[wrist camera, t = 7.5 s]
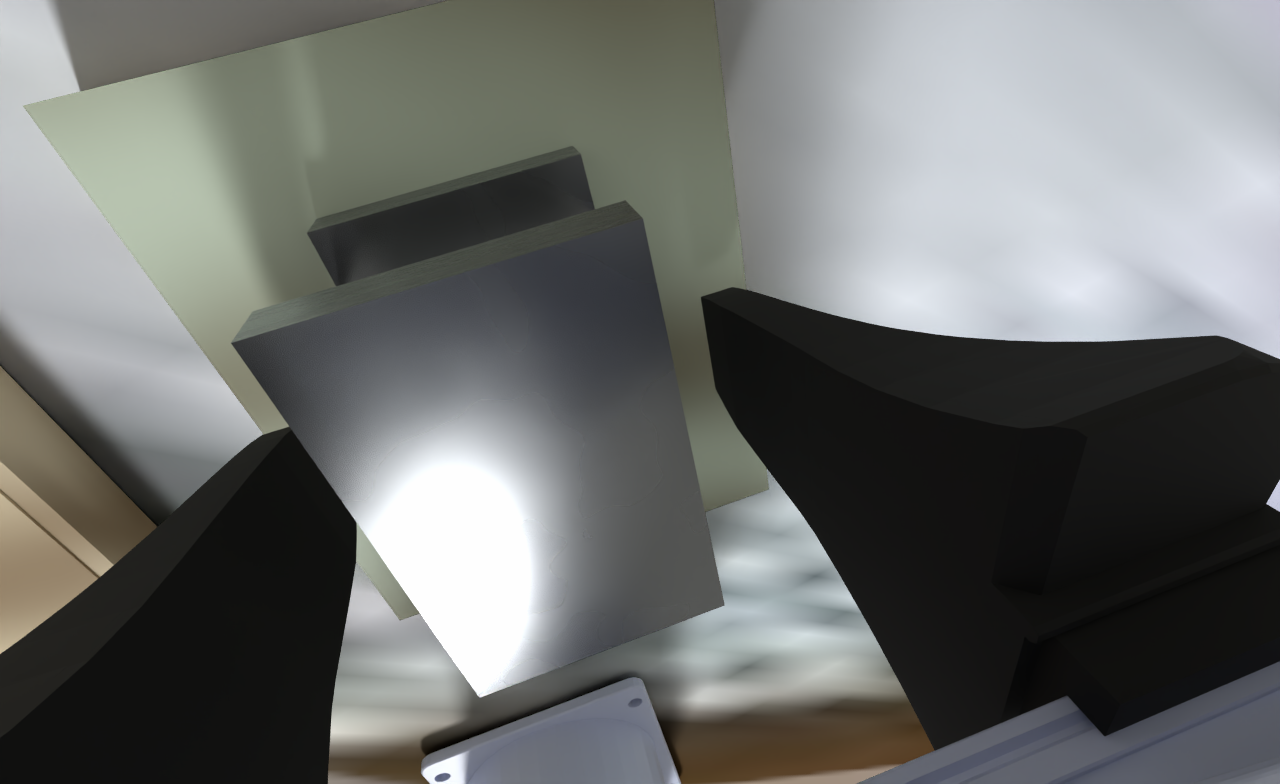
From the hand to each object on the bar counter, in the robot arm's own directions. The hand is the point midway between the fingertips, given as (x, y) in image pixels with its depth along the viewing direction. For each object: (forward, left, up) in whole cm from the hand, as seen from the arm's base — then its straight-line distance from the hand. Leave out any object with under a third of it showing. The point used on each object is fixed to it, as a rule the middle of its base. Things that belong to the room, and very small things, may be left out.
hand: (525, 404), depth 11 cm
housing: (0, 0, -2) cm, 2 cm away
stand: (0, 0, -3) cm, 3 cm away
